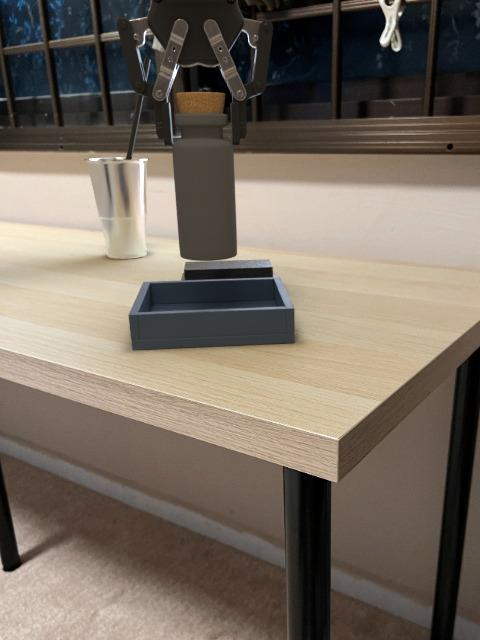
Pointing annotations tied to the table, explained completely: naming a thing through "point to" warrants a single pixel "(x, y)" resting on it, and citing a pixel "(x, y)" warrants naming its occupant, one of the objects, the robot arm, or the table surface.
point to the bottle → (204, 178)
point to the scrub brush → (228, 269)
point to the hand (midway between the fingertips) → (202, 144)
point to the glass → (122, 196)
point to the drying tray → (211, 313)
